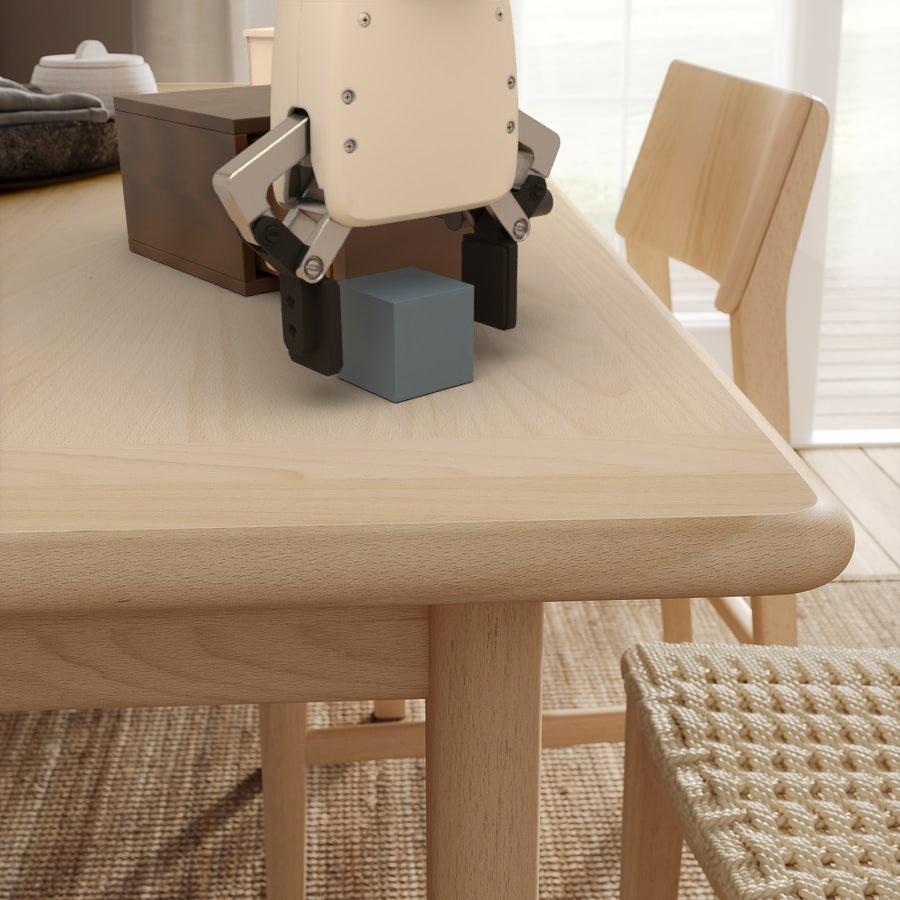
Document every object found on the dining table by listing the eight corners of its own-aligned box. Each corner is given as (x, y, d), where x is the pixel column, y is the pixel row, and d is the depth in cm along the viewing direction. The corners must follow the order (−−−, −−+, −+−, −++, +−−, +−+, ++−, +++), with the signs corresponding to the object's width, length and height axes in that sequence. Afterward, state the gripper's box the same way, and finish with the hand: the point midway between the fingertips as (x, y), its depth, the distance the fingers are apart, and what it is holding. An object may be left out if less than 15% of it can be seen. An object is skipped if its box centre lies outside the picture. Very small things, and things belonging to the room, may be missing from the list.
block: (336, 376, 53) (332, 281, 51) (412, 357, 55) (411, 266, 54) (395, 403, 50) (393, 302, 48) (473, 381, 52) (474, 285, 51)
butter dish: (426, 93, 163) (425, -31, 157) (363, 107, 148) (359, -29, 142) (317, 87, 170) (312, -31, 164) (247, 100, 155) (238, -30, 149)
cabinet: (421, 261, 73) (420, 102, 69) (245, 296, 65) (233, 119, 62) (293, 224, 83) (286, 83, 79) (128, 250, 76) (112, 96, 72)
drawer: (586, 298, 62) (594, 147, 59) (417, 340, 55) (415, 171, 52) (371, 236, 75) (367, 111, 72) (214, 264, 69) (203, 127, 66)
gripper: (499, -74, 53) (495, 294, 60) (148, -80, 43) (190, 364, 49) (622, -78, 48) (603, 326, 54) (255, -86, 38) (287, 412, 44)
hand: (406, 344), depth 52 cm, fingers open, 9 cm apart
